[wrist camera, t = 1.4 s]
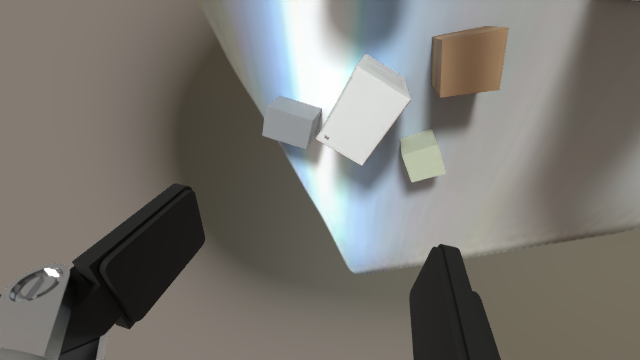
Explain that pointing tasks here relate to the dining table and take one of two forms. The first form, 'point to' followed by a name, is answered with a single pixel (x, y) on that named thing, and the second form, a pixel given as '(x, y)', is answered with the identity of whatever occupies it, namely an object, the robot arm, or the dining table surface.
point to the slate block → (291, 121)
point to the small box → (365, 110)
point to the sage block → (422, 156)
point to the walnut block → (468, 61)
